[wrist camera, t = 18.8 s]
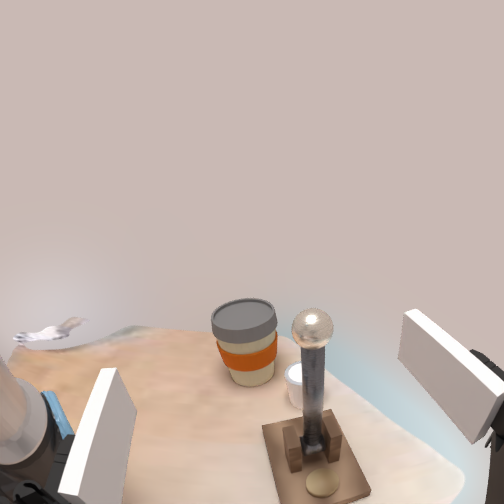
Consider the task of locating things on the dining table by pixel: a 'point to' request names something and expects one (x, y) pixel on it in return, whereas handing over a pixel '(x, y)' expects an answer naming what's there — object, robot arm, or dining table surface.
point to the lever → (312, 374)
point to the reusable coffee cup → (247, 339)
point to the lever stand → (314, 465)
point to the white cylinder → (295, 384)
